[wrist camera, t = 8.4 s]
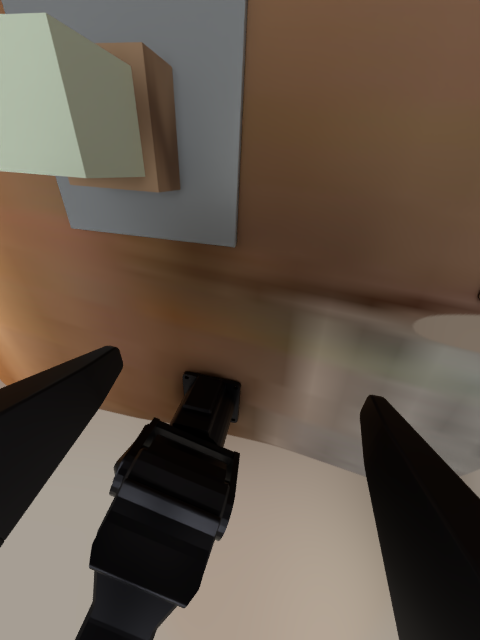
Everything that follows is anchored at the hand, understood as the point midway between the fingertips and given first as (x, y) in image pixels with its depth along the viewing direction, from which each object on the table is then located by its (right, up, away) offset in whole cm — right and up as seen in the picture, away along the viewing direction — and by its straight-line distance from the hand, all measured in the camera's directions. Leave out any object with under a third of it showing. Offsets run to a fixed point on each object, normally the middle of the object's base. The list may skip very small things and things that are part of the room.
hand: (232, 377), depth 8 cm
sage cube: (-7, +12, +4) cm, 15 cm away
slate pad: (-7, +14, +7) cm, 17 cm away
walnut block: (-7, +14, +7) cm, 17 cm away
